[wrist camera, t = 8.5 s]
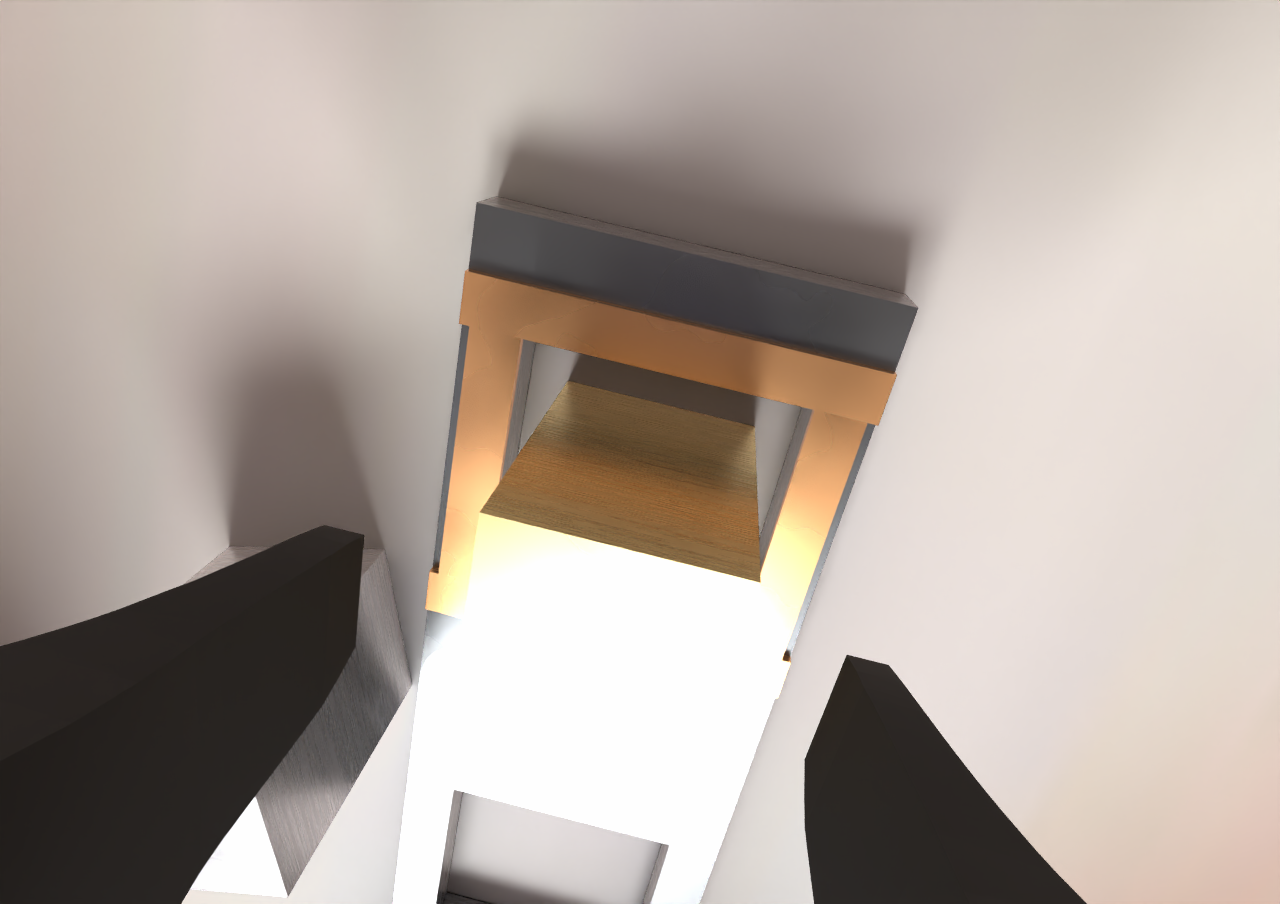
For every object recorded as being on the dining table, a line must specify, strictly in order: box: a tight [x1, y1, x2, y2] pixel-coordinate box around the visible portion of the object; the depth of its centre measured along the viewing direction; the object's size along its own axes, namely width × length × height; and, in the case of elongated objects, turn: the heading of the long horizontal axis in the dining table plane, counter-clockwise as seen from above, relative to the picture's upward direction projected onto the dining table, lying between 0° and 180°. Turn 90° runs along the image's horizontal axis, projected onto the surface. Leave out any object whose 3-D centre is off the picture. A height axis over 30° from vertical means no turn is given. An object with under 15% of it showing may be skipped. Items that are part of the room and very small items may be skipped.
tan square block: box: [448, 381, 761, 791], centre depth 14 cm, size 4×4×6 cm
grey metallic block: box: [183, 546, 412, 897], centre depth 17 cm, size 4×4×6 cm
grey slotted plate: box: [392, 196, 918, 904], centre depth 19 cm, size 8×22×1 cm, turn 168°
